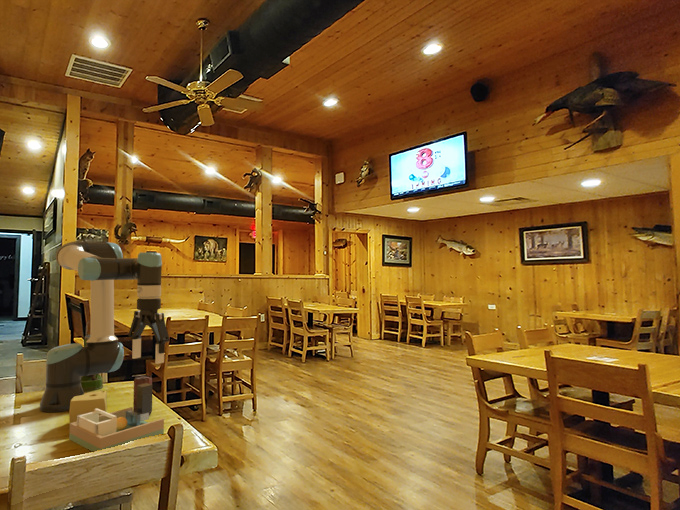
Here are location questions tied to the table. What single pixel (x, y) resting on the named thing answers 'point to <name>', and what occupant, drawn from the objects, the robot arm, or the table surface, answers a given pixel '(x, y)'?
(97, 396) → the cheese
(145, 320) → the robot arm
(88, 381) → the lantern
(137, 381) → the can
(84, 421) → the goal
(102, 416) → the pinkish brown tray
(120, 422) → the ball
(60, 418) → the table surface
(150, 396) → the block
